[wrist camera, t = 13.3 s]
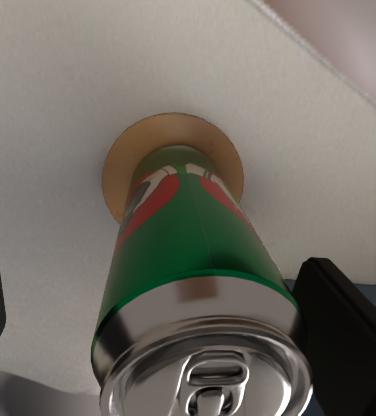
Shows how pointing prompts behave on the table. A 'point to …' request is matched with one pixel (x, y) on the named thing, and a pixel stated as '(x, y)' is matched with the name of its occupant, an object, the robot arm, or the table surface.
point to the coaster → (159, 137)
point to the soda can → (195, 304)
